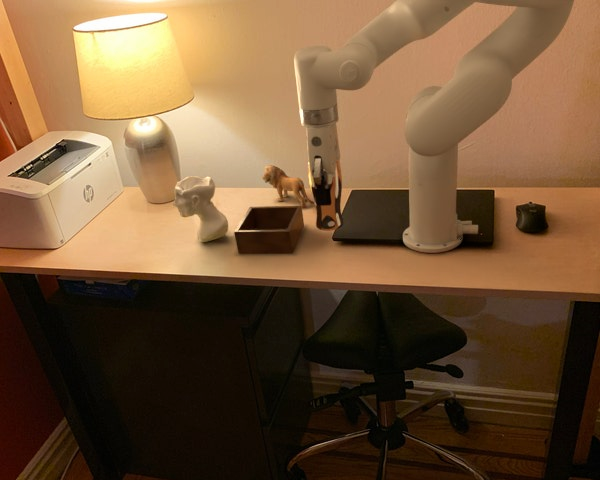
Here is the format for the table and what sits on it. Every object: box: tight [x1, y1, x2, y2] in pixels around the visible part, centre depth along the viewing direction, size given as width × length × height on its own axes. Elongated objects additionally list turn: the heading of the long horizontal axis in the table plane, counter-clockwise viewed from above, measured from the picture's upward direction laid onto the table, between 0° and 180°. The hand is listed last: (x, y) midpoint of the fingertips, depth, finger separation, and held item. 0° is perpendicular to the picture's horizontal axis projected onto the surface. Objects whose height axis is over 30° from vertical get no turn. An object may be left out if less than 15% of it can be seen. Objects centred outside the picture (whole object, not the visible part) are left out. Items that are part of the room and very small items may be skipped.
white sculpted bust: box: [172, 175, 229, 243], centre depth 136 cm, size 10×11×15 cm
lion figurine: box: [261, 164, 315, 209], centre depth 150 cm, size 15×5×9 cm, turn 55°
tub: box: [233, 205, 305, 255], centre depth 134 cm, size 13×13×6 cm
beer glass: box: [307, 157, 344, 232], centre depth 126 cm, size 7×7×15 cm
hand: (327, 196), depth 127 cm, fingers closed on beer glass, 7 cm apart
